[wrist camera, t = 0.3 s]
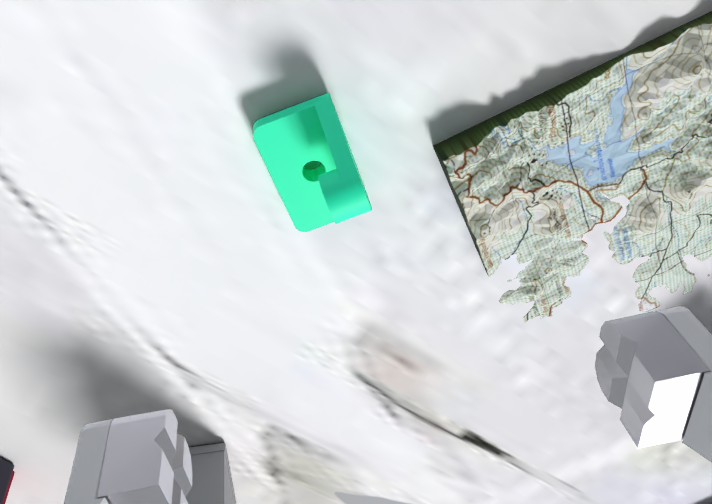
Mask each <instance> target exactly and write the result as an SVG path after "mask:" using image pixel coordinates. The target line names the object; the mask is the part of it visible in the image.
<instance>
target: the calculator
mask: <svg viewBox="0 0 712 504" xmlns="http://www.w3.org/2000/svg"><path fill="white" fill-rule="evenodd" d="M13 468H14V465H13V464H12V463H10V462H8V461H6V460H4V459H2V458H0V504H5V502H6V498H7V495H8V492H9V489H10V486H11V482H12V479H13V476H14V471H13Z"/></svg>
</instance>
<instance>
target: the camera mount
mask: <svg viewBox="0 0 712 504" xmlns="http://www.w3.org/2000/svg"><path fill="white" fill-rule="evenodd" d="M253 139H254V141H255V143H256V146H257V148H258V150H259V152H260V154H261V156H262V158H263V160H264V162H265V165H266V167H267V169H268V171H269V173H270V175H271V177H272V179H273V181H274V183H275V186H276V188H277V190H278V192H279V194H280V196H281V198H282V200H283V202H284V205H285V207H286V209H287V211H288V213H289V215H290V217H291V219H292V221H293V223H294V226H295V227H296V229H297V230H299V231H302V232H307V231H311V230H313V229H316V228H319V227H321V226H324V225H327V224H329V223H332V222H335V223H339V222H341V221H344V220H347V219H350V218H352V217H355V216H358V215H360V214H363V213H366V212H369V211H371V210H372V207H371V204H370V201H369V198H368V196H367V193H366V190H365V188H364V185H363V182H362V180H361V177H360V174H359V172H358V169H357V166H356V163H355V161H354V158H353V155H352V153H351V150H350V147H349V145H348V142H347V139H346V136H345V134H344V131H343V128H342V126H341V123H340V121H339V118H338V115H337V113H336V110H335V107H334V105H333V102H332V99H331V96H330V94H329V93H326V94H324V95H321V96H318V97H316V98H313V99H311V100H308V101H305V102H303V103H300V104H297V105H295V106H292V107H290V108H287V109H284V110H282V111H279V112H276V113H274V114H271V115H269V116H266V117H263V118H261V119H259V120H257V121H256V122H255V123H254V125H253ZM310 161H319V162H321V165H320V166H319V167H317V168H315V169H306V168H304V165H305V164H306V163H308V162H310Z"/></svg>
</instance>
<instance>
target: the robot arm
mask: <svg viewBox="0 0 712 504" xmlns="http://www.w3.org/2000/svg"><path fill="white" fill-rule="evenodd" d="M599 337H600V338H601V340H602V341H603V343H604V344H605V345H604V346H603V347H602V348H601V349H600V350H599V351H598V352H597V354H596V362H595V368H596V374H597V380H598V382H599V385H600V387H601V389H602V391H603V393H604V395H605V396H606V398H607V400H608V401H609V402H611V403H613V404H615V405H616V406H618V407H620V408H622V411H621V417H620V420H621V422H622V424H623V425H624V427H625V428H626V430H627V431H628V433H629V435H630V436H631V438H632V439H633V441H634V442H635V444H636V446H637V447H638V448H642V447H648V446H653V445H659V444H664V443H669V442H675V441H680V440H683V442H682V443H684V444H685V445H687V446H688V447H690V448H691V449H693V450H694V451H696V452H697V453H699V454H700V455H702V456H703V457H704V458H706V459H707V460H709V461H710V462H712V334H711V333H710V332H709V331H708V330H707V329H706V328H705V327H704V326H703V324H702V323H701V322H700V321H699V320H698V319H697V318H696V317H695V316H694V315H693V313H692V312H691V311H690V310H689V309H688V308H686V307H683V306H678V307H673V308H669V309H664V310H659V311H656V312H648V313H643V314H639V315H634V316H629V317H624V318H620V319H615V320H610V321H605V322H604V324H603V325H602V327H601V331H600V336H599ZM177 425H178V421H177V418H176V416H175V414H174V412H173V410H172V409H166V410H160V411H155V412H149V413H143V414H137V415H132V416H126V417H120V418H114V419H111V420H105V421H100V422H94V423H88V424H85V426H84V428H83V429H82V431H81V432H80V436H79V440H78V445H77V449H76V453H75V458H74V462H73V466H72V471H71V475H70V479H69V484H68V488H67V492H66V496H65V501H64V504H188V502H187V500H186V498H185V497H186V495H187V494H188V492H189V491H190V490H191V488H192V474H193V473H192V462H191V455H190V451H189V447H188V444H187V442H186V439H185V437H184V436H182V435H180V434H178V433H177Z"/></svg>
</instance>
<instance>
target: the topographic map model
mask: <svg viewBox="0 0 712 504" xmlns="http://www.w3.org/2000/svg"><path fill="white" fill-rule="evenodd" d="M433 147H434V150H435V152H436V154H437V157H438V159H439V161H440V164H441V166H442V168H443V171H444V173H445V176H446V178H447V180H448V183H449V185H450V187H451V190H452V192H453V194H454V197H455V199H456V202H457V204H458V206H459V209H460V211H461V213H462V216H463V218H464V220H465V222H466V225H467V227H468V230H469V232H470V234H471V237H472V239H473V241H474V244H475V247H476V249H477V251H478V253H479V256H480V258H481V260H482V263H483V265H484V267H485V270H486V272H487V274H488V276H489V277H490V276H491V275H493V274H494V272H495V271H496V269H497V268H498V266H499V264H500V263H502V262H501V257H502V258H503V259H505V260H506V259H508V258H510V255H513V254H517V253H519V254H518V256H517V260H518V263H525V262H527V261H529V260H531V259H534V260H533V261H532V262H531V263H529V264H528V265H527V266H526V267H525V269H524V270H522V271H520V272H519V273H518V274H517V277H516V278H519V279H521V280H520V282H521V287H519V288H518V289H517V290H515V291H514V290H509V291H507V292H506V293H504V294H503V295H502V297H501V298H500V300H499V302H500V303H507V304H512V305H513V304H515V303H519V302H526V303H527V302H530V301H534V300H535V303H534V306H533V307H532V308H531V309H530V311H529V312H528V313H527V315H525V316H524V317H523V319H524V322H526V321H527V320H528V319H532V318H534V317H536V316H539V315H543V316H542V317H541V318H543V317H549V316H552V314H551V313H552V312H553V311H552V309H553V308H555V307H557V306H558V305H560V304H561V303H562V300H564V299H566V298H569V297H571V291H570V288H569V287H566V286H564V283H565V280H566V277H567V276H579V275H580V271H581V270H582V269H583V268H585V266H586V264H587V263H588V261H589V260H588V256H586V255H584V254H582V252H583V250H584V249H585V248H587V243H586V242H584V241H582V240H581V241H571V240H573V239H574V238H579V239H582V236H583V234H585V233H586V232H589V231H591V230H593V227H594V225H596V224H598V223H605V222H609V221H611V220H612V219H613V218H615V216H616V215H617V214H618V213H619V212H620V211H621V210H622V209H623V208H622V206H621V205H620V204H619V203H616V202H613V201H610V199H611V198H614V197H616V196H619V195H623V196H625V197H626V198H628V199H629V200H630V204H629V205H628V206H627V207H626V209H627V213H626V215H625V217H624V218H623V219H622V220H621V221H620V222H619V223H618V224H617V225H616V226H615V227H614V229H613V233H612V234H609V233H607V232H604V234H603V235H604V236H605V237H606V238H607V240H608V241H609V242H610V244H609V249H610V250H612V251H615V253H614V254H613V256H612V258H614V259H615V260H616V261H617V262H618V263H620V264H626V263H629V262H631V261H632V260H633V259H634V258H635V257H643V256H647V255H648V256H650V257H652V258H651V259H648V261H647V262H644V263H642V264H641V265H639V266H638V268H637V269H636V271H635V272H634V274H633V279H634V281H635V282H636V283H638V284H639V285H640V287H639V288H638V289H637V290H636V297H637V298H638V299H641V302H640V304H639V310H640V311H643V312H647V311H649V310H652V309H654V308H657V307H659V306H660V304H659V302H658V301H657V299H656V298H654V297H651V296H650V295H649V294H648V293H649V291H650V290H651V289H652V288H653V287H656V286H660V287H661V285H664V284H666V286H667V287H666V289H667V288H669V289H670V292H671V293H674V292H675V291H677V289H678V286H679V283H680V282H681V283H682V284H683V285H685V286H684V288H685V289H684V292H683V295H684V294H686V293H688V292H690V291H692V287H693V285H694V283H695V282H696V278H695V276H694V273H692V272H690V271H688V270H687V269H686V263H685V262H684V261H683V259H682V258H683V257H684V256H685V255H687V254H692V255H694V257H696V258H697V259H700V260H702V261H703V260H706V259H708V258H709V257H710V255H711V254H712V12H710V13H707V14H705V15H703V16H701V17H699V18H697V19H695V20H693V21H691V22H689V23H687V24H684V25H682V26H680V27H678V28H676V29H674V30H672V31H670V32H668V33H666V34H664V35H662V36H660V37H658V38H655V39H653V40H651V41H649V42H647V43H645V44H643V45H641V46H639V47H637V48H635V49H633V50H631V51H629V52H627V53H625V54H623V55H621V56H619V57H616V58H614V59H612V60H610V61H608V62H606V63H604V64H602V65H600V66H598V67H596V68H594V69H592V70H590V71H587V72H585V73H583V74H581V75H579V76H577V77H575V78H573V79H571V80H569V81H567V82H565V83H563V84H561V85H558V86H556V87H554V88H552V89H550V90H548V91H546V92H544V93H542V94H540V95H538V96H536V97H534V98H532V99H530V100H527V101H525V102H523V103H521V104H519V105H517V106H515V107H513V108H511V109H509V110H507V111H505V112H503V113H501V114H498V115H496V116H494V117H492V118H490V119H488V120H486V121H484V122H482V123H480V124H478V125H475V126H473V127H471V128H469V129H467V130H465V131H463V132H461V133H459V134H457V135H455V136H453V137H451V138H449V139H447V140H444V141H442V142H440V143H438V144H436V145H434V146H433ZM600 192H601V193H604V194H606V195H607V196H608V197H609V198H610V199H608V198H606V197H604V196H602V194H601V193H600ZM592 216H593V217H596V218H595V220H593V219H590V218H591V217H592ZM709 275H710V274H709ZM709 275H707V276H709ZM516 278H514V279H516ZM511 281H512V280H508V282H511Z"/></svg>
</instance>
